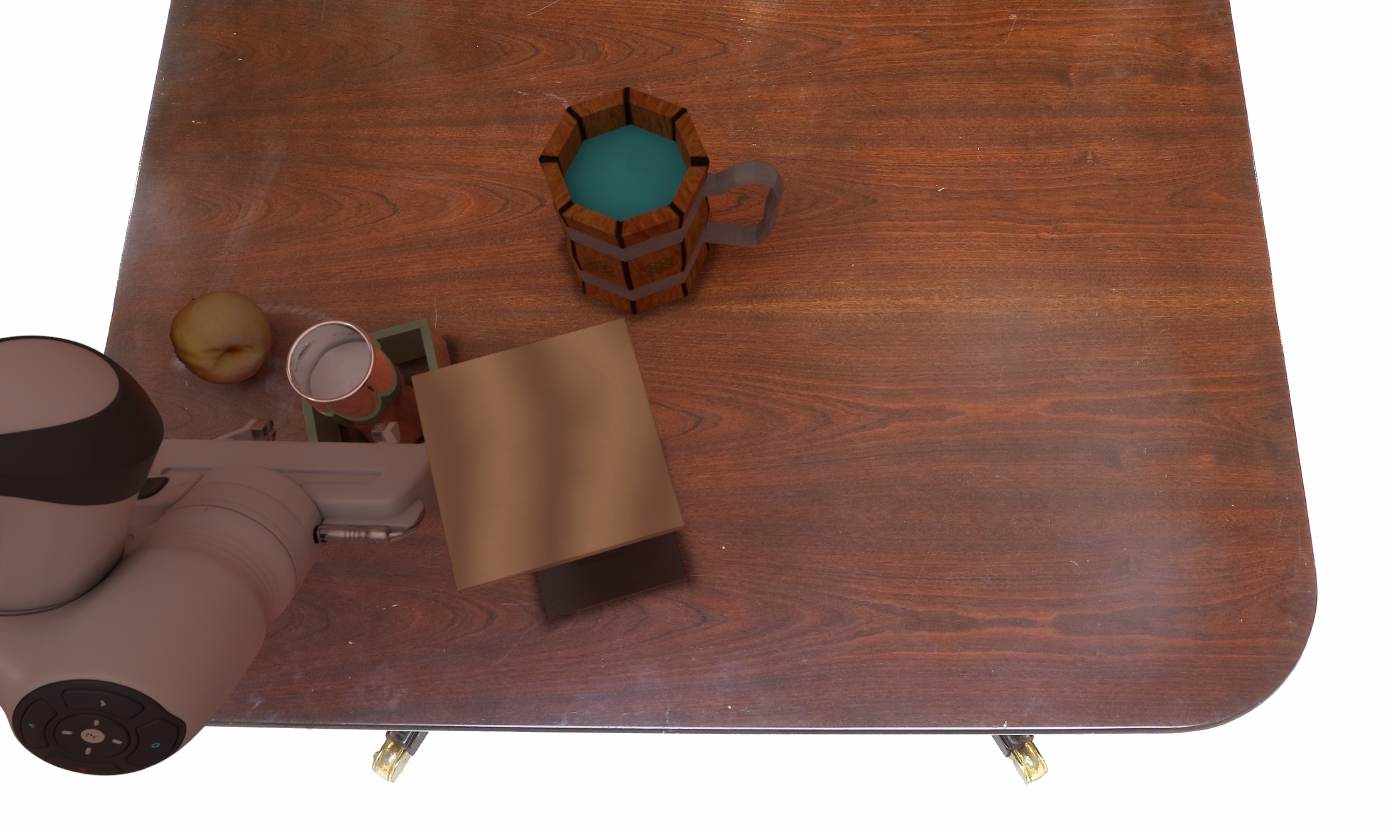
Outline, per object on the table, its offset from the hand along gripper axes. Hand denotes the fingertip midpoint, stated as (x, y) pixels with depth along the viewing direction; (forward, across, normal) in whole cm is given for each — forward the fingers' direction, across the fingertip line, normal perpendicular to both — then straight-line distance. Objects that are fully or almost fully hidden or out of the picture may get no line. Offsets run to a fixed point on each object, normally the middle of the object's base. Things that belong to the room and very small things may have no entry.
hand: (327, 428), depth 70 cm
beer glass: (+12, -1, +6) cm, 14 cm away
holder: (+12, -1, +6) cm, 13 cm away
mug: (+24, -25, -6) cm, 35 cm away
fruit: (+16, +14, +2) cm, 22 cm away
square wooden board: (-14, -19, -7) cm, 25 cm away
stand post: (+5, -20, +12) cm, 24 cm away
